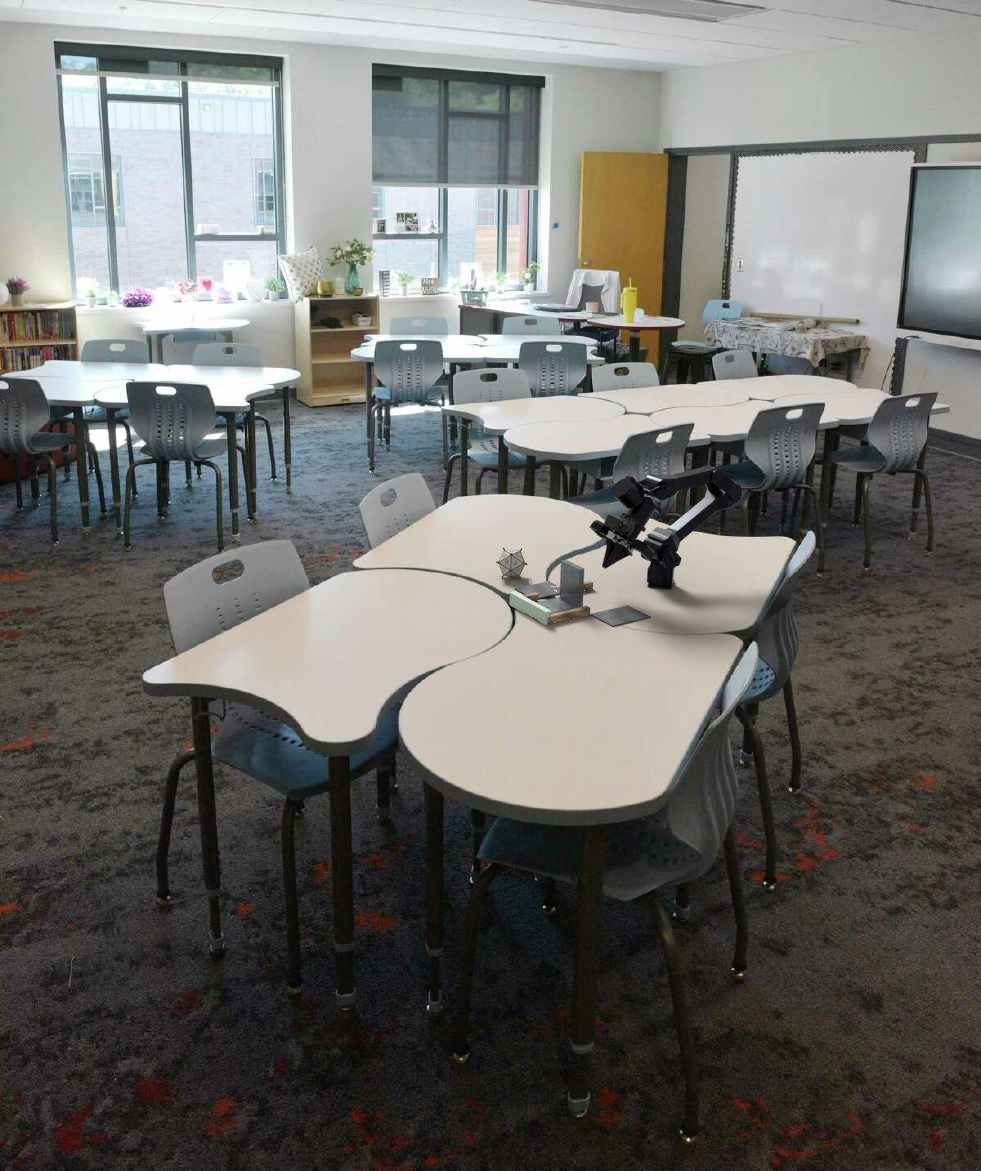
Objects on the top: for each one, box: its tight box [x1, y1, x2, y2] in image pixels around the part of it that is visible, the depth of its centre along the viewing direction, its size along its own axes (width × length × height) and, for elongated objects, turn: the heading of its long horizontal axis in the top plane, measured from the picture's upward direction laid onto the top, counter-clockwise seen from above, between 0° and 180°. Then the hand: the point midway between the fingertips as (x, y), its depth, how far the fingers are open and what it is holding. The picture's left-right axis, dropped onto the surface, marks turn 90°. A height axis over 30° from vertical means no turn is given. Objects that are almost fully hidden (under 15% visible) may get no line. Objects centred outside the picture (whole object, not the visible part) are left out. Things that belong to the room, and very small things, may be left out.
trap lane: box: [514, 580, 652, 628], centre depth 275 cm, size 25×34×2 cm
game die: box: [495, 547, 528, 580], centre depth 294 cm, size 9×8×10 cm
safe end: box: [509, 590, 551, 626], centre depth 268 cm, size 2×16×4 cm, turn 32°
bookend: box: [536, 559, 585, 614], centre depth 271 cm, size 12×8×11 cm, turn 122°
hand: (603, 567), depth 278 cm, fingers closed
